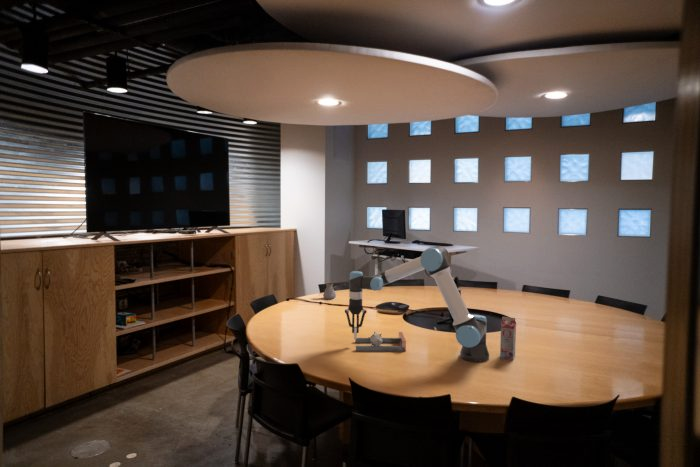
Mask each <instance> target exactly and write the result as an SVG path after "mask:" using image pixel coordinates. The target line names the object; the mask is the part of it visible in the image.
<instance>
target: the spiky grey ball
mask: <svg viewBox="0 0 700 467" xmlns="http://www.w3.org/2000/svg"><path fill="white" fill-rule="evenodd" d="M367 338H370V341H371V343H370V344H371V345H370V346H381V345H382V344H383V343H382V342H384V341H383V340H382V338H383V336H382V333H376V331H374V333H372V335H370V337H367Z"/></svg>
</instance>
